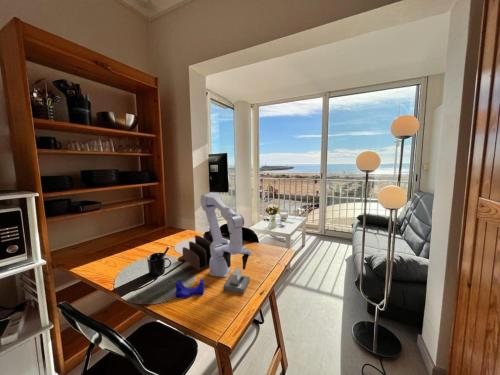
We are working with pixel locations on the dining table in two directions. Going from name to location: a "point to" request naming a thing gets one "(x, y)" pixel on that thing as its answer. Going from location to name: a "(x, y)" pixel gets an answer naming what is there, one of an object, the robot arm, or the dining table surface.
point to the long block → (236, 277)
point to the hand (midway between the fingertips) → (236, 267)
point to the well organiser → (240, 289)
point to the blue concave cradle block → (189, 290)
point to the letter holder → (198, 253)
